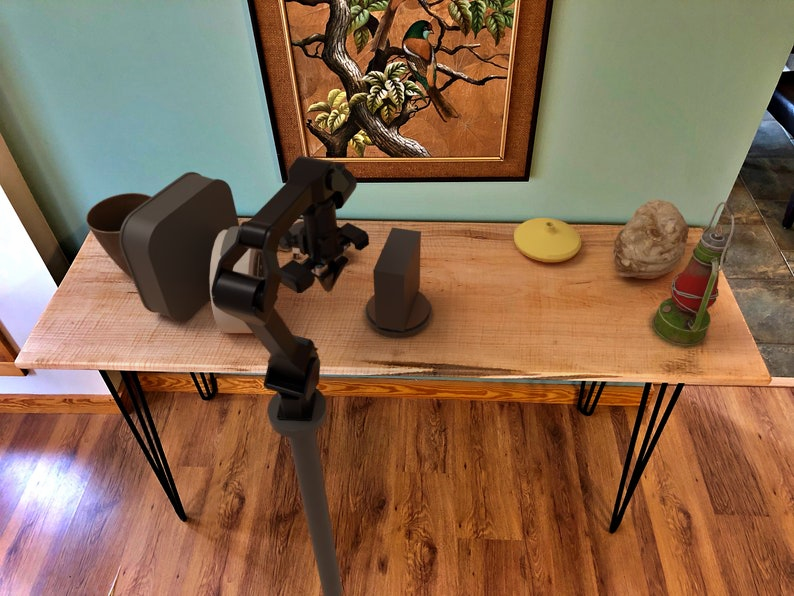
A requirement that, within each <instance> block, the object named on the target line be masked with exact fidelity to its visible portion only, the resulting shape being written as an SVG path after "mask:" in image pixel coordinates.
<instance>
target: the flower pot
mask: <svg viewBox="0 0 794 596" xmlns="http://www.w3.org/2000/svg"><path fill="white" fill-rule="evenodd" d="M151 197H152V196H151V195H149V194H146V193H142V192H141V193H140V192H124V193H119V194H115V195H112V196H108V197H106V198H104V199H102V200H100V201H98V202H97V203H96V204H94V205H93V206H92V207H91V208H90V209H89V210H88V211H87V213H86V216H85V223H86V225H87V226H88V228H89V229H90V231H91V232H92V234H93V236H94V238H95V239H96V241H97V242H98V243H99V244H100V246H101V248H102V249H103V250H104V252H105V253H106V254H107V256H108V257H110V259H111V260H112V261H113V262H114V263H115V264H116V266H118V268H119V269H120V270H121V271H122V272H123V273H125V275H127V276H128V277H129V278H131V279H132V276H131V273H130V271H129V268H128V266H127V263H126V261H125V258H124V256H123V253H122V250H121V247H120V243H119V235H120V230H121V226H122V224H123V222H124V220H125V219H126V217H127V216H128V215H129V214H130V213H131V212H132V211H133V210H135V209H136V208H137V207H139V206H140V205H141V204H143V203H144V202H146V201H147V200H148V199H150V198H151Z"/></svg>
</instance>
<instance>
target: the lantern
mask: <svg viewBox="0 0 794 596" xmlns="http://www.w3.org/2000/svg"><path fill="white" fill-rule="evenodd" d="M722 205H723V207H724V208H725V210H726V212H727V214H728V216H729V217H730V218H731V229H730V234H729V236H727V235H725V234H724V233H723V227H722V225H721V224H718V225H717V227H716V228H715V231H713V230H710V228H711V226H712V224H713V222H714V220H715V217H716V214H717V213H718V211H719V208H720V207H721V206H722ZM734 216H735V213H734V211H733V209H732V207H731V206H730V203H729V202H727V201H721V202H719V203H718V205H716V208H715V210H714V213H713V214H712V216H711V218H710V221H709V223H708V226H707V227H706V228H705V229H704V230H703V231H702V233H701V235H700V239H699V240H698V243H696V246H695V247H694V248H693V249H692V251H691V252H692V253H691V256H690V258H689V260H688V261H687V265H686V266H685V268H684V269H683V270H682V271H681V272H680V273H678V274H677V275H675V276H674V277H673V280H672V284H671V293H670V296H671V297H668V298H666V299H664V300H662V301H661V303H660V304H659V306H658V308H657V310H656V313H655V315H654V316H653V318H652V319H651V329H652V330H653V332H654V334H655V335H656V336H657V337H658V338H659V339H661V340H662V341H663V342H665V343H666V344H670V345H672V346H675V347H679V348H686V349H687V348H695V347H697V346H699V345H701V344H703V342H704V341H705V339H706V336H707V331H708V329H709V326H710V325H711V323H712V320H711V314H710V312H709V311H708V310H709V309H710V308H711V307H713V306H714V304H715V303H716V301H717V298H718V297H719V296H720V294H719V293H720V292H719V288H718V287H719V279H720V278H719V277H720V271H722V270H723V265H724V264H725V263H726V262H727V255H728V252H729V248H730V247H731V244H732V241H731V240H732V238H733V235H734V231H735V217H734ZM719 227H720V232H719V231H718V230H719ZM709 230H710V231H709Z"/></svg>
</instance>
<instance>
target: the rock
mask: <svg viewBox="0 0 794 596" xmlns="http://www.w3.org/2000/svg"><path fill="white" fill-rule="evenodd" d="M689 232H690V228H689V224H688V223H687V222H686V220H685V218H684V216H683V214H682V213H681V212H680V211H679V209H678V207H677V206H675V205H674V203H672V202H670V201H665V200H661V199H653V200H649V201H647V202H646V203H644V204H642V205H640V207H638V208H637V209H636V210H635V212H634V214H633V215H632V216H631V218H630V219H629V220H628V222H627V223H626V224H625V225H624V226H623V227H622V228H621V229H620V231H619V232H618V233H617V234H616V237H615V240H614V243H613V245H612V247H613V248H612V255H613V261H614V266H615V271H616V272H617V273H618V274H619V276H620V277H624V278H631V277H633V278H635V279H639V280H641V279H646V280H651V279H653V280H654V279H656V278H659V277H661V276H664V275H666V274H669V273H671V272H672V271H673V270H675V269H676V268H677V267H678V265H679V264H681V261H682V259H683V257H684V256H685V252H686V246H687V242H688V238H689Z"/></svg>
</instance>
